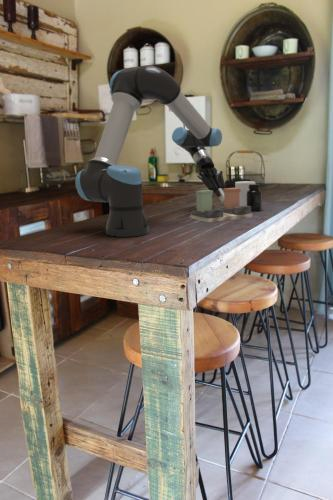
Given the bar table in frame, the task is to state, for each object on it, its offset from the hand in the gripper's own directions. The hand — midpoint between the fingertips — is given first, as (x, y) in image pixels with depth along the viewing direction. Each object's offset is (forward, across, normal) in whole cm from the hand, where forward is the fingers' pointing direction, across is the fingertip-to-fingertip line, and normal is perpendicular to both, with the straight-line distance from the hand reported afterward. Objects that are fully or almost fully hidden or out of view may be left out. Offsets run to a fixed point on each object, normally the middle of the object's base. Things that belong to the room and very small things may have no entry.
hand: (224, 201), depth 190 cm
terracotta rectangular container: (+6, 0, +1) cm, 6 cm away
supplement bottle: (+4, -17, -5) cm, 18 cm away
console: (+9, +7, +1) cm, 12 cm away
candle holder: (-6, -22, -14) cm, 27 cm away
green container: (+6, +14, +1) cm, 15 cm away
